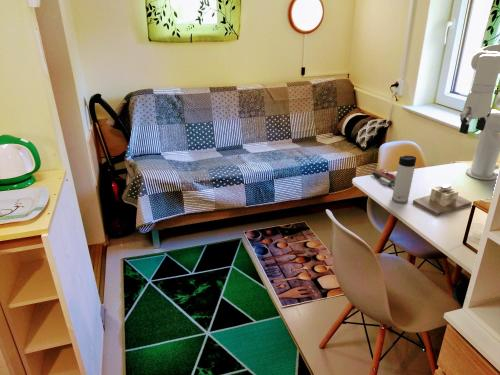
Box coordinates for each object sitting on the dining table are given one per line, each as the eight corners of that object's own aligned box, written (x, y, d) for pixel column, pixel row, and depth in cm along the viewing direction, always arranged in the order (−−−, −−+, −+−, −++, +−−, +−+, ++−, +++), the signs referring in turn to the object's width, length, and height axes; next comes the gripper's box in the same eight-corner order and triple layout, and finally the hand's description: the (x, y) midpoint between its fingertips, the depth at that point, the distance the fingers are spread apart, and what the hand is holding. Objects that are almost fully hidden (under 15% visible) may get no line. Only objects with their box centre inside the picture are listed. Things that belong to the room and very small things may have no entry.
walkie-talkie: (368, 177, 183) (400, 193, 167) (369, 168, 181) (402, 184, 165) (381, 173, 187) (414, 189, 171) (383, 165, 185) (416, 180, 169)
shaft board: (446, 193, 167) (450, 175, 163) (471, 205, 157) (476, 186, 153) (412, 203, 159) (416, 184, 155) (436, 216, 149) (441, 197, 145)
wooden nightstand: (441, 195, 161) (444, 184, 159) (455, 202, 156) (458, 191, 154) (429, 199, 159) (432, 187, 156) (443, 206, 153) (446, 194, 151)
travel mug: (400, 205, 157) (408, 160, 148) (388, 198, 162) (396, 154, 154) (411, 202, 159) (420, 158, 150) (400, 195, 165) (408, 152, 156)
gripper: (488, 84, 152) (477, 126, 160) (458, 88, 146) (448, 131, 153) (506, 88, 146) (494, 131, 154) (476, 92, 140) (465, 137, 147)
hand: (471, 131), depth 154 cm, fingers open, 9 cm apart
